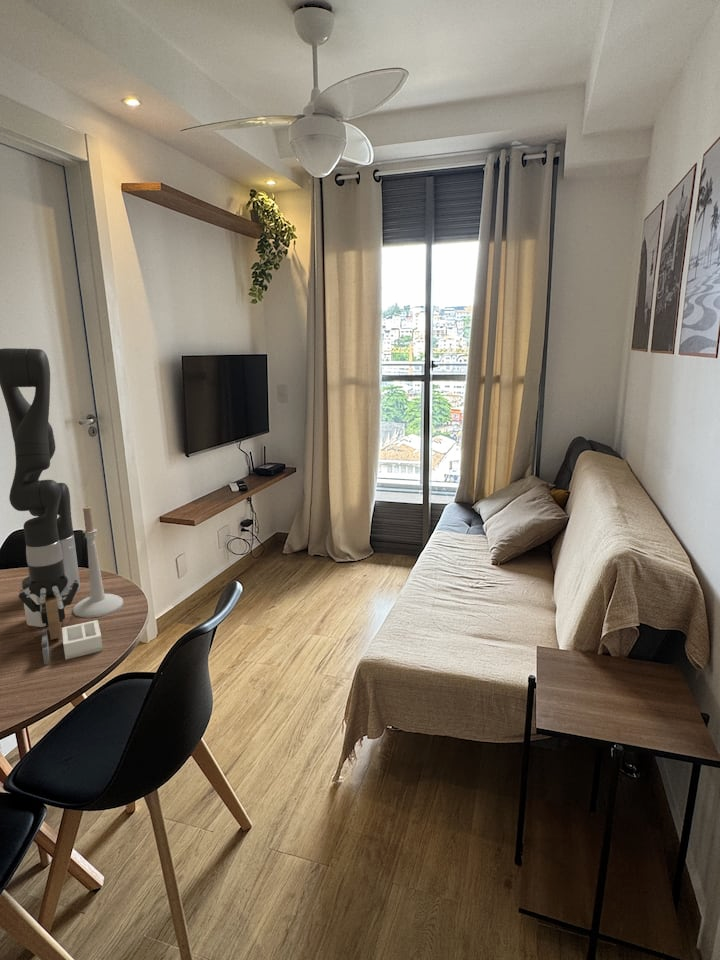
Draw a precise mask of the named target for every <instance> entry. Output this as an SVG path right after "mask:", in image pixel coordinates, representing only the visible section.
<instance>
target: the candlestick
mask: <svg viewBox="0 0 720 960" xmlns="http://www.w3.org/2000/svg"><path fill="white" fill-rule="evenodd" d="M82 510H83V511H82V512H83V519H84V528H85V529H84V530H82V533H83V534H84V537H85V539H87V544H86V545H87V558H88V560H87V561H88V575H89V576H88V577H89V592H90V594H89V595H90V596H87V597H84V598H83V599H82V600H80V601H79V602H77V603H76V604H75V605H74V606H73V610H72V611H73V614H74V615H75V616H76V617H79V618H84V619H87V618H88V619H89V618H91V619H93V618H99V617H104V616H108V615H110V614H113V613H115V612H116V611H119V610H120V609H121V608H122V607H123V606H124V599H123V598H122V597H121V596H120V595H116V594H113V593H105V590H104V584H103V579H102V574H101V567H100V562H99V558H98V557H99V556H98V550H97V547H96V546H97V545H96V542H95V537H96V532H97V531H98V529H97V528H95V527H94V521H93V520H94V519H93V511H92V510H93V509H92V507H91V506H84V507H83V508H82Z"/></svg>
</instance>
